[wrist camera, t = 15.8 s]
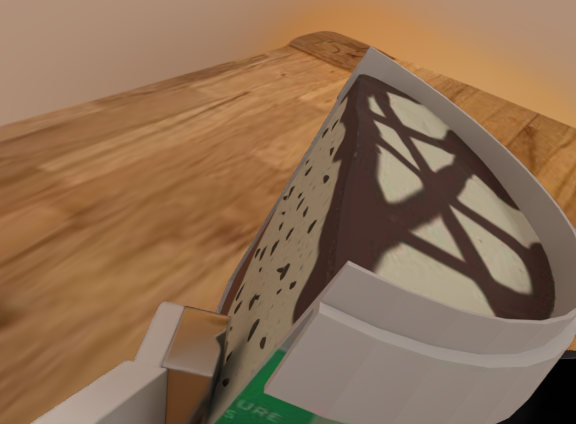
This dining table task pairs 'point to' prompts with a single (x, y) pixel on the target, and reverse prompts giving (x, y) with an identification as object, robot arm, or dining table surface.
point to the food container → (399, 272)
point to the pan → (551, 396)
